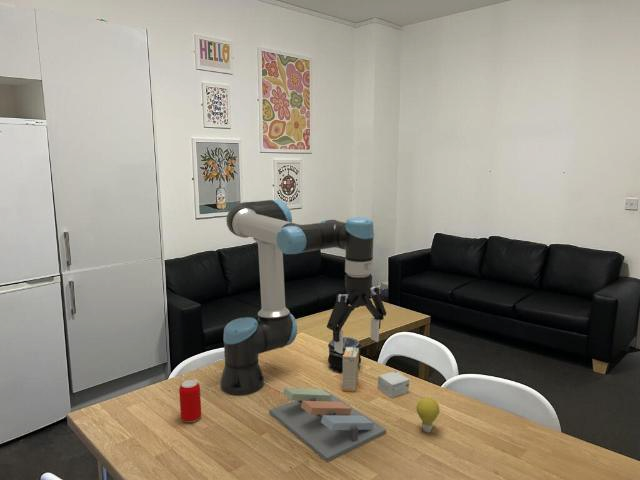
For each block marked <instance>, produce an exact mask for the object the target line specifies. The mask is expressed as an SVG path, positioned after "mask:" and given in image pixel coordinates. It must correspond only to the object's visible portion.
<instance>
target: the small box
mask: <svg viewBox="0 0 640 480" xmlns="http://www.w3.org/2000/svg"><path fill="white" fill-rule="evenodd" d="M377 376H378V377H377V389H378V390H379V391H380V392H382V393H383V394H385V395H386V396H388V397H389V398H391V399H392V398H395V397H399V396H401V395H404V394H408V393H409V390H410V389H409V388H410V387H409V386H410V378H408V377H406V376H405V375H403V374H402V373H400V372H398V371H397V370H394V371H390V372H386V373H384V374H380V375H377Z"/></svg>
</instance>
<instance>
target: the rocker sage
mask: <svg viewBox="0 0 640 480" xmlns="http://www.w3.org/2000/svg"><path fill="white" fill-rule="evenodd" d="M326 391H327V390H326ZM326 391H324V389H323V388H322V389H320V388H301V387H300V388H299V387H298V388H297V387H284V388H283V392H282V395H283V396H284V397H286V398H287V399H289V400H290V401H295V400H299V401H310V399H311V398H314V397H315V398H316V401H330V400H331V396H332V395H330V394H329V393H330V392H329V393H327V392H326Z"/></svg>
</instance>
